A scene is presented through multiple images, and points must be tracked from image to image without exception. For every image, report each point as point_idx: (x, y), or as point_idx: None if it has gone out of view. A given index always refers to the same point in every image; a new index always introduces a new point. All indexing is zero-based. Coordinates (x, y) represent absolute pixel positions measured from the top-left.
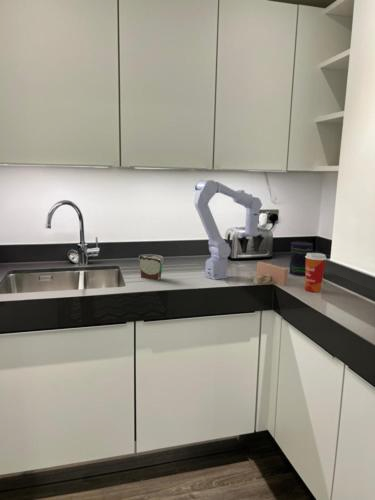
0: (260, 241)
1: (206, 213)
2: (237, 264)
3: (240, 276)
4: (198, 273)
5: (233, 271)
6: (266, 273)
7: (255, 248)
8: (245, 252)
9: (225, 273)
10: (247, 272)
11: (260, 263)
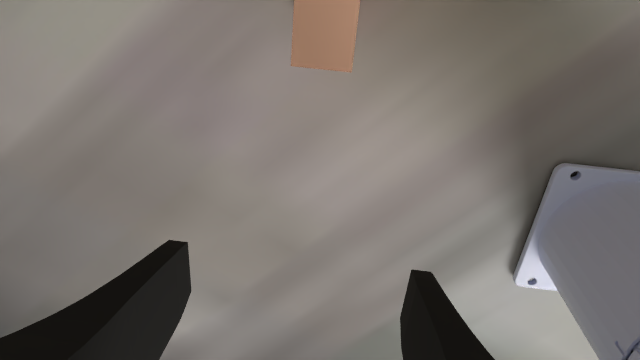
0: (48, 343)
1: None
2: (183, 352)
3: (457, 135)
4: None
5: (366, 261)
6: None
7: (171, 299)
8: (430, 276)
9: (629, 195)
10: (295, 184)
11: (358, 5)
